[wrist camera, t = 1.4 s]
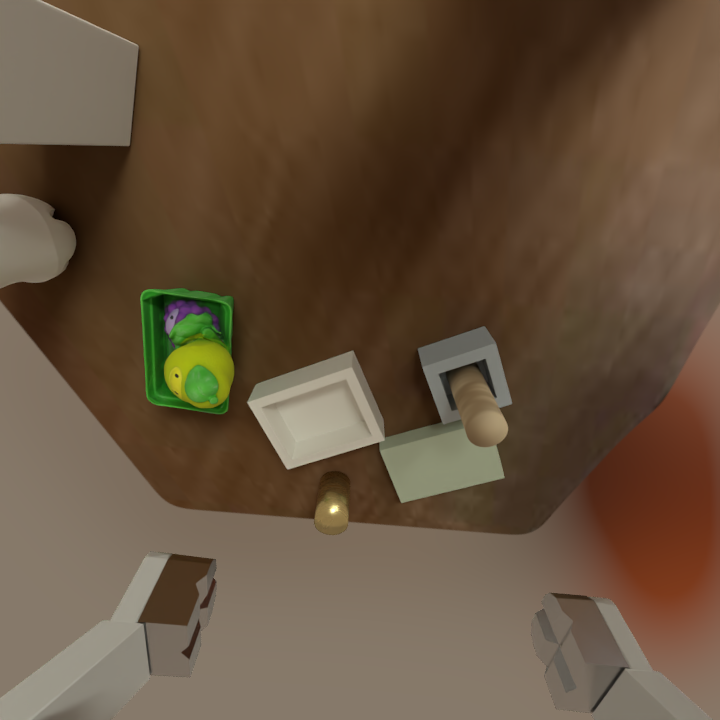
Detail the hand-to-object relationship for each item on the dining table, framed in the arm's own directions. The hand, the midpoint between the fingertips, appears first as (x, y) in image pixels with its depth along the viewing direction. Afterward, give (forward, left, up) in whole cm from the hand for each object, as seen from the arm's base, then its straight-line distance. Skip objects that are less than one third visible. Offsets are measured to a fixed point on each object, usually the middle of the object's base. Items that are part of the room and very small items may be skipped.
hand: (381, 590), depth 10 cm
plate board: (0, +22, -32) cm, 39 cm away
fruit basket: (+17, 0, -32) cm, 36 cm away
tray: (+10, +11, -31) cm, 35 cm away
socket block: (-5, +12, -31) cm, 34 cm away
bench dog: (+13, +22, -31) cm, 41 cm away
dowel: (-5, +12, -30) cm, 33 cm away
